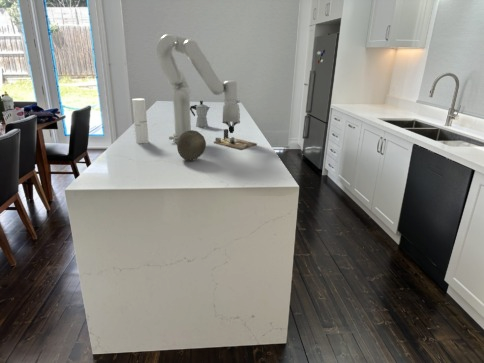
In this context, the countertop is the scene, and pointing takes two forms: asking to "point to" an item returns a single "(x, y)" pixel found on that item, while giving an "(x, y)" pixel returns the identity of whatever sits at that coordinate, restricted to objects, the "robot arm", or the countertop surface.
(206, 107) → the coffee maker
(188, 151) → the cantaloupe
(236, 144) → the plate
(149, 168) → the countertop surface
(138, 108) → the cylindrical container
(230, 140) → the swing bar
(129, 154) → the countertop surface
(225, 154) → the countertop surface
